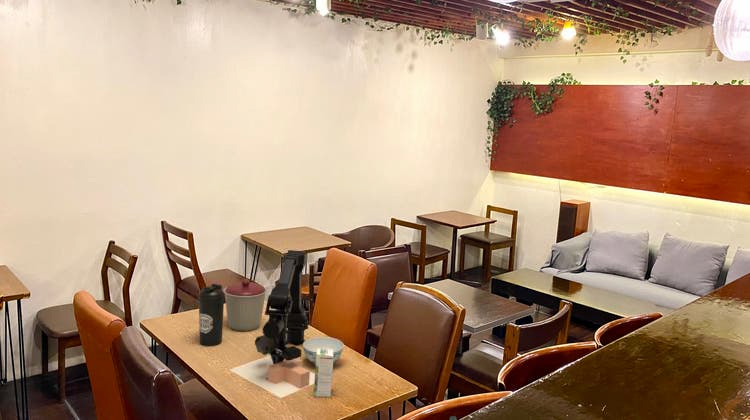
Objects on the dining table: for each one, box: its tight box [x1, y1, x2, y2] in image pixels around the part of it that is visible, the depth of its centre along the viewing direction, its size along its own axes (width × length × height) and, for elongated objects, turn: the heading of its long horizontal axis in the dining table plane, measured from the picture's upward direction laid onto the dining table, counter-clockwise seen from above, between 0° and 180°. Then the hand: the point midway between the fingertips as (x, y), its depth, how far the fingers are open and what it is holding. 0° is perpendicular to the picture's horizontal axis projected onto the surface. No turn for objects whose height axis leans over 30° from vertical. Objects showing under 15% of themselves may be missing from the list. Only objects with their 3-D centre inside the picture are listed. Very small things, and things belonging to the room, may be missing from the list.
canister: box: [222, 278, 268, 332], centre depth 241 cm, size 18×18×21 cm
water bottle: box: [197, 283, 226, 347], centre depth 222 cm, size 10×10×23 cm
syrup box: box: [313, 349, 334, 398], centre depth 187 cm, size 6×6×14 cm
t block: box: [268, 357, 311, 390], centre depth 194 cm, size 12×12×5 cm
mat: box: [229, 355, 315, 399], centre depth 199 cm, size 20×28×1 cm
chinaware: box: [302, 336, 345, 366], centre depth 210 cm, size 15×15×8 cm
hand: (276, 369), depth 200 cm, fingers closed
